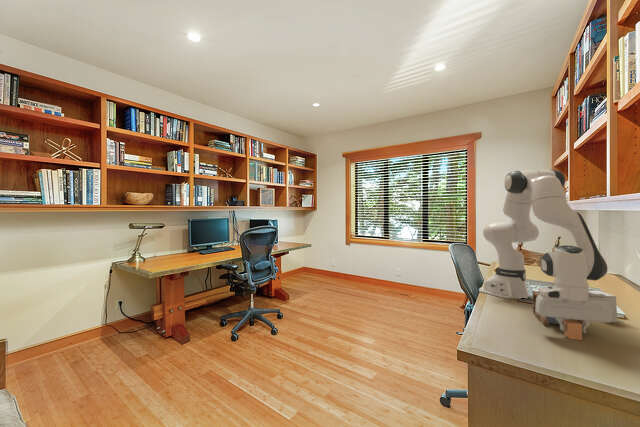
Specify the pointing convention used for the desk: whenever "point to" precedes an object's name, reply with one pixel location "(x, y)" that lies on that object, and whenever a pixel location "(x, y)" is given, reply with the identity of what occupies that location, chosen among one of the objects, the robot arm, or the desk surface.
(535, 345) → the desk surface
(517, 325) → the desk surface
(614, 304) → the small box
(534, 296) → the shelf
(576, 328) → the cube on a stick
